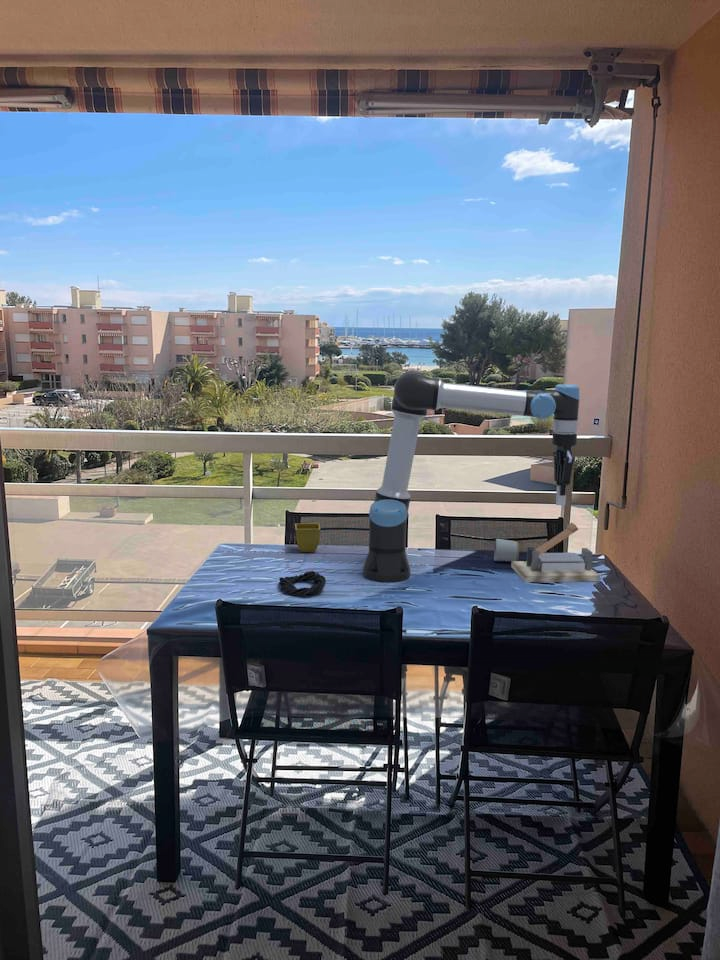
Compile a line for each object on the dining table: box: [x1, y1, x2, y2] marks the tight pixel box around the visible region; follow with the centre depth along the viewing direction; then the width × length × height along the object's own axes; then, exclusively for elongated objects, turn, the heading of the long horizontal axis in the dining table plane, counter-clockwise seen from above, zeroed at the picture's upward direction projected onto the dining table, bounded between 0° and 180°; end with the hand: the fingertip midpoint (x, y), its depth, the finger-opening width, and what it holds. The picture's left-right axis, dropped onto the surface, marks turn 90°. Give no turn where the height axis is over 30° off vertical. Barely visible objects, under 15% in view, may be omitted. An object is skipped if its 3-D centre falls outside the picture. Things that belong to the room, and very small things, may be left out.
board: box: [510, 560, 601, 583], centre depth 245 cm, size 24×16×2 cm, turn 95°
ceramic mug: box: [493, 538, 520, 563], centre depth 259 cm, size 11×8×8 cm
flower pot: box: [294, 522, 321, 553], centre depth 266 cm, size 9×9×9 cm
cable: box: [278, 570, 327, 598], centre depth 225 cm, size 17×14×4 cm
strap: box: [530, 522, 579, 555], centre depth 243 cm, size 17×4×2 cm
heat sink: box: [525, 545, 593, 573], centre depth 244 cm, size 20×11×6 cm, turn 94°
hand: (560, 504), depth 245 cm, fingers closed
